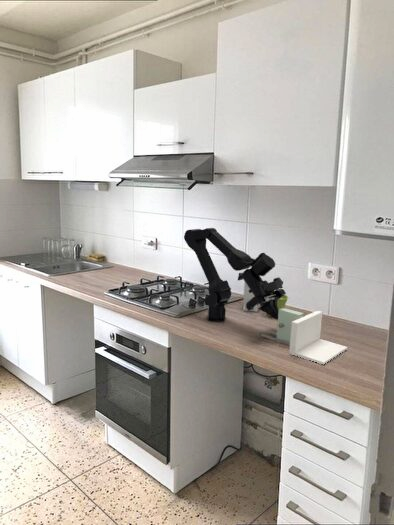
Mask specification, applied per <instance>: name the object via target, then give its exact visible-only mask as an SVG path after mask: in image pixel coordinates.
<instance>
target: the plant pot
mask: <svg viewBox="0 0 394 525" xmlns="http://www.w3.org/2000/svg"><path fill="white" fill-rule="evenodd" d="M271 294H272V293H271ZM288 299H289V296H288V295H287V294H285V295H284V296H283V297H281V298H280V299H279V300H278V301H277V306H278V310H279V309H282V308H286V304H287V302H288ZM267 316H269V317H271V316H270V315H269V314H267Z"/></svg>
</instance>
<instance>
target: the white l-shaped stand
mask: <svg viewBox="0 0 394 525" xmlns="http://www.w3.org/2000/svg"><path fill="white" fill-rule="evenodd" d="M322 319H323V311H320V310H315V311H313V312H312V313H308V314H306V315H305V316H304V315H303V317H302V318H299V319H297V320H295V321H293V322H292V327H291V338H290V343H289V342H286V341H283V340H280V339H277V338H276V337H277V332H274V331H270V330H268V331H267V334H264V333H262V334H261V337H262V338H265V339H269V340H271V341H275V342H278V343H281V344H283V345H287V346H289V352H288V354H289V355H292V356H294V355H295V357H297V356H298V357H297V358H300V357H301V358H300V359H303V358H304V359H303V360H306V359H307V360H306V361H309V360H311V361H310V362H312V361H314V362H313V363H315V362H317V363H316V364H318V363H321V364H325V363H326V364H328V363H329V362H331V361H332V360H334V359H335V358H337V357H338V356H340V355H341V354H343V353H345V352H346V351H347V350H348V346H345V345H341V344H338V343H336V342H335V343H334V342H332V341H329V340H325V339H322V338H321V331H322ZM271 335H272V336H271ZM273 336H274V337H273ZM345 350H346V351H345ZM342 352H343V353H342ZM340 353H341V354H340ZM339 354H340V355H339ZM337 355H338V356H337ZM336 356H337V357H336ZM334 357H335V358H334ZM333 358H334V359H333ZM331 359H332V360H331ZM330 360H331V361H330ZM328 361H329V362H328ZM327 362H328V363H327ZM321 364H320V365H321ZM326 364H325V365H326Z"/></svg>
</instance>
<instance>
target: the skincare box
mask: <svg viewBox="0 0 394 525" xmlns="http://www.w3.org/2000/svg"><path fill="white" fill-rule="evenodd" d="M243 288H244V289H243V291H244V292H243V311H246V312H249V311H248V310H247V308H246V303H247V302H248V301H250V300H251V299H252V298H253V297H255V296H254V295H253V293H249V290H250V288H249V287H248V285H247V284H246V282H245V281H244V287H243ZM259 306H260V304H258V305H256V306H255V307H254V309H253V310H251V311H250V312H258V311H259Z"/></svg>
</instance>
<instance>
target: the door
mask: <svg viewBox="0 0 394 525" xmlns="http://www.w3.org/2000/svg"><path fill="white" fill-rule="evenodd" d="M302 317H304V312H300V311H297V310H293V309H288V308H286V307H285V308H282V309H279V313H278V320H277V328H276V333H277V336H275V338H277V339H280V340H283V341H286V342H289V343H290V338H291V327H292V322H293V321H295V320H297V319H299V318H302Z"/></svg>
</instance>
